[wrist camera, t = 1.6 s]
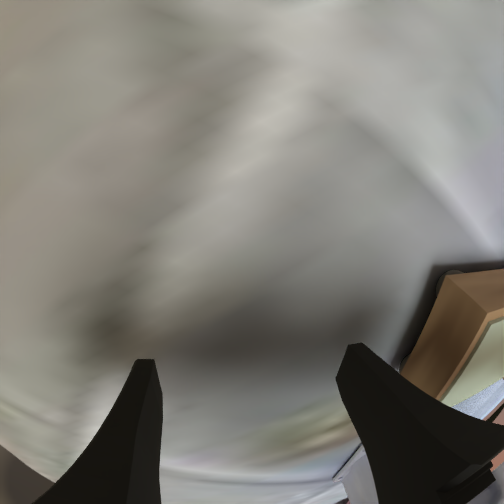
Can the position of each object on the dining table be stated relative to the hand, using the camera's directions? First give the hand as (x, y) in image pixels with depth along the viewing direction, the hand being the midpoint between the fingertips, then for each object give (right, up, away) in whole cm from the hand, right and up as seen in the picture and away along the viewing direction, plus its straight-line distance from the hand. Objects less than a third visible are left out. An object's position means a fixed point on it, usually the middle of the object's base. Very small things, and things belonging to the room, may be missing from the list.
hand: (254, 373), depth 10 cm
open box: (+12, +1, +3) cm, 13 cm away
